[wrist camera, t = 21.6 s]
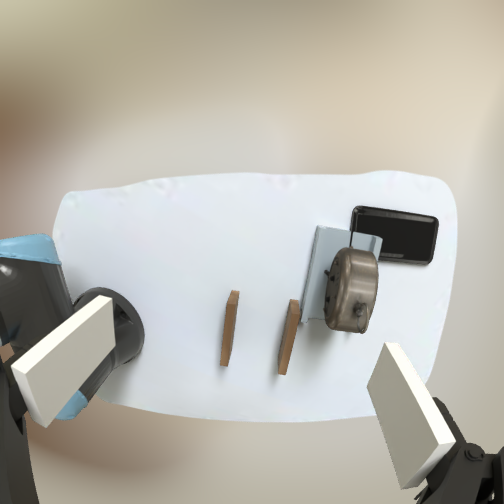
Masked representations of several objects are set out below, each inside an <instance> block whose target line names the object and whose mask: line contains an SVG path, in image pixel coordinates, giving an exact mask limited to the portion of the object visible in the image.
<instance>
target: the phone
mask: <svg viewBox="0 0 504 504" xmlns="http://www.w3.org/2000/svg"><path fill="white" fill-rule="evenodd" d="M438 227H439V221H438V219H437V218H436V217H433V216H429V215H422V214H416V213H410V212H403V211H396V210H390V209H383V208H375V207H368V206H356V207H355V208H354V209H353V212H352V220H351V228H350V231H351V237H350V244H349V247H350V246H351V244H352V237H353V232H357V233H362V234H368V235H373V236H378V237H380V238H382V239H383V240H382V244H381V249H380V253H379V257H378V260H384V261H395V262H406V263H417V264H429V263H430V262H431V261H432V259H433V255H434V250H435V244H436V239H437V233H438Z"/></svg>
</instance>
